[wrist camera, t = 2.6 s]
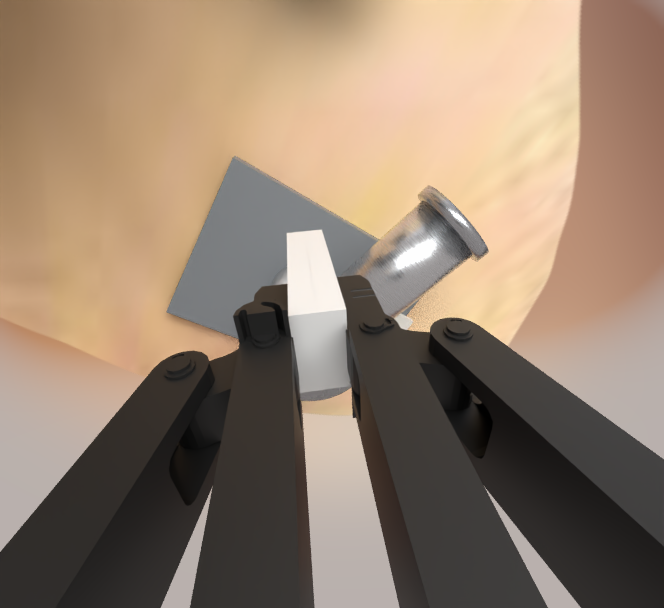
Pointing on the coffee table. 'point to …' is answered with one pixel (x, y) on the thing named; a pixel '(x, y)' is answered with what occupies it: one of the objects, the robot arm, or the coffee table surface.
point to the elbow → (414, 259)
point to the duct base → (256, 247)
